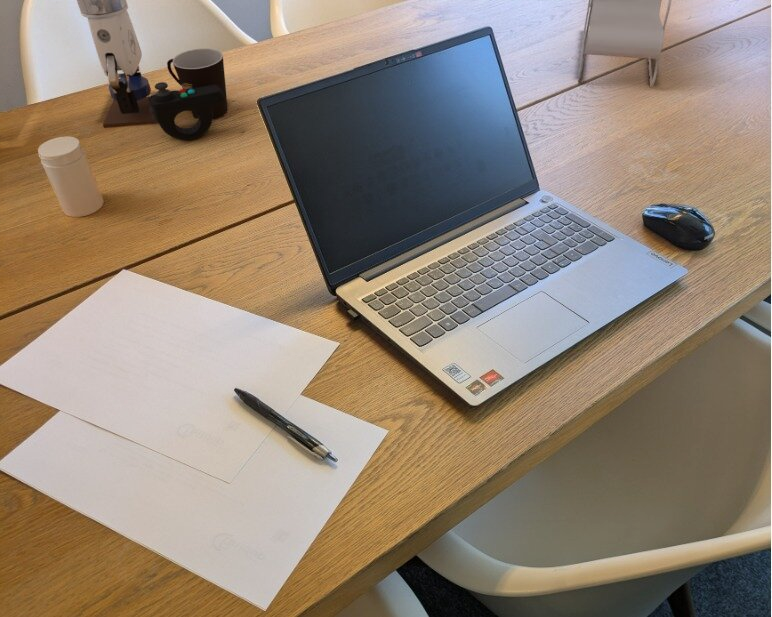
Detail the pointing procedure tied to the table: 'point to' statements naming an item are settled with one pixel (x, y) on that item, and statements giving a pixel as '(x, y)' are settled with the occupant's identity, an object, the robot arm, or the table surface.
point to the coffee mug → (201, 73)
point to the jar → (71, 176)
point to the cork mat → (129, 115)
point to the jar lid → (135, 87)
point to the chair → (624, 30)
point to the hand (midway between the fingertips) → (134, 102)
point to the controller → (185, 108)
